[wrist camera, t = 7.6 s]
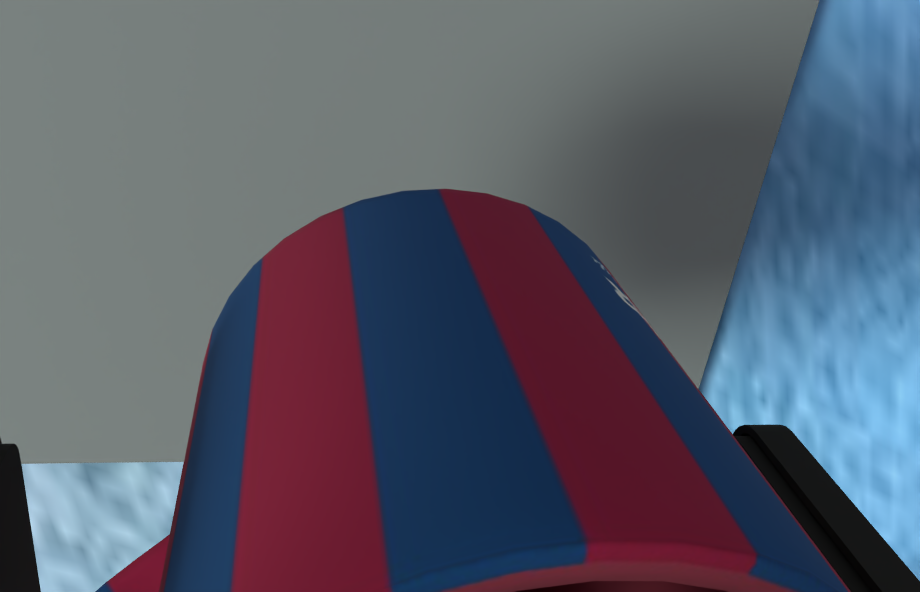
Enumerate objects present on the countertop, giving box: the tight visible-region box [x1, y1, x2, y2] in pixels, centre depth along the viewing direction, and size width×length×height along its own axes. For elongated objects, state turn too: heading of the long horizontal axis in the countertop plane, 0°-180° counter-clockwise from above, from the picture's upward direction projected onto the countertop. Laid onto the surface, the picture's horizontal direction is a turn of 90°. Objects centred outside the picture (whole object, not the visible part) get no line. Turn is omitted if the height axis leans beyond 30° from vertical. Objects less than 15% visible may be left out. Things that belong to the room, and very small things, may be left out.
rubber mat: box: [0, 0, 819, 464], centre depth 19 cm, size 20×14×1 cm
